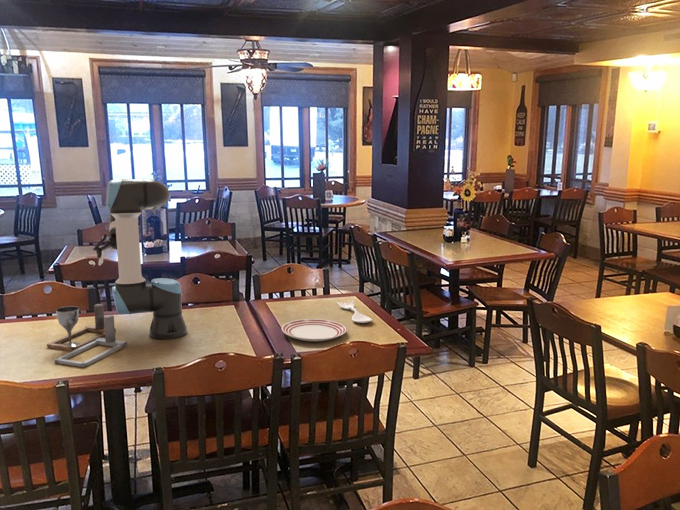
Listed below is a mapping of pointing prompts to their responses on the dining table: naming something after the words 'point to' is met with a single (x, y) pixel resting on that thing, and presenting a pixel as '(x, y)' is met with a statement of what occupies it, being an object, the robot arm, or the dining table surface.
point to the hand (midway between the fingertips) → (115, 268)
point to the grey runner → (108, 341)
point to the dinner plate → (313, 329)
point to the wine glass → (68, 320)
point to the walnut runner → (97, 328)
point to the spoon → (357, 316)
